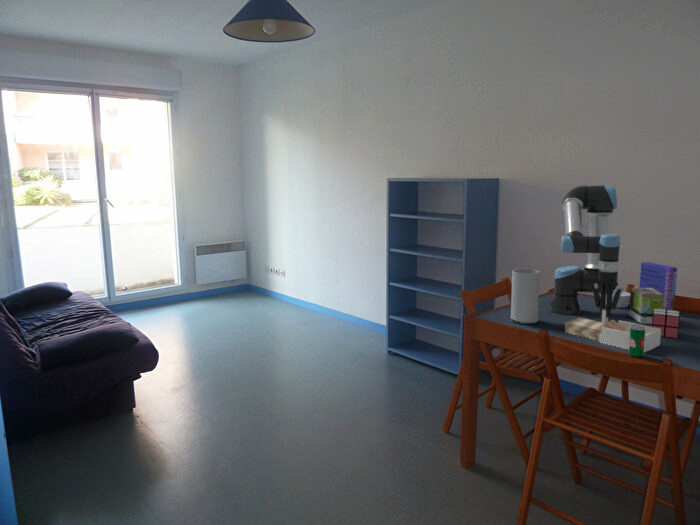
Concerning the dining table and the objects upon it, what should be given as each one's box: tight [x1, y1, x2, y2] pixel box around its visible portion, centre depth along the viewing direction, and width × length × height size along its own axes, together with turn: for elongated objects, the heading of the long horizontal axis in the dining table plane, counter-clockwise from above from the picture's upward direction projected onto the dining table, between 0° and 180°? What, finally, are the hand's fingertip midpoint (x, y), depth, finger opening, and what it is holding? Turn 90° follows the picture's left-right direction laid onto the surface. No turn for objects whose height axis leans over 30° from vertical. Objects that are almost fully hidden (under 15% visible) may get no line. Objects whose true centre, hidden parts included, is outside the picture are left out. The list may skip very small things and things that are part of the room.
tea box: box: [629, 287, 665, 325], centre depth 243 cm, size 15×10×15 cm
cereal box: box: [638, 262, 678, 311], centre depth 258 cm, size 17×5×24 cm, turn 14°
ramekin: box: [606, 290, 631, 309], centre depth 271 cm, size 13×13×7 cm
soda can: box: [628, 324, 645, 358], centre depth 196 cm, size 5×5×12 cm
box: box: [598, 320, 662, 353], centre depth 210 cm, size 18×16×7 cm
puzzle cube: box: [651, 309, 681, 339], centre depth 222 cm, size 10×10×10 cm
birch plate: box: [564, 317, 604, 342], centre depth 224 cm, size 16×12×5 cm
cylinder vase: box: [510, 268, 541, 323], centre depth 245 cm, size 12×12×25 cm
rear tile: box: [604, 319, 625, 331], centre depth 215 cm, size 6×6×3 cm
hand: (604, 324), depth 218 cm, fingers closed
